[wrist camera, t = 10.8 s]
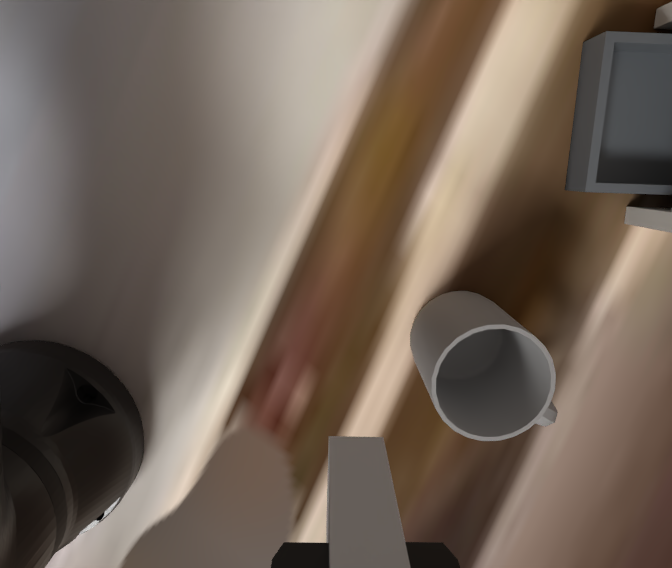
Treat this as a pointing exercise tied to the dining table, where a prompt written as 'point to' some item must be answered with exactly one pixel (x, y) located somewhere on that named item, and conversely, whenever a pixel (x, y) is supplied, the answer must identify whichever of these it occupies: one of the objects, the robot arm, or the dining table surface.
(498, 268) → the dining table surface
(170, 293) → the dining table surface
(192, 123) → the dining table surface
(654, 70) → the grey storage tray
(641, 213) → the small white side table
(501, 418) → the cup
